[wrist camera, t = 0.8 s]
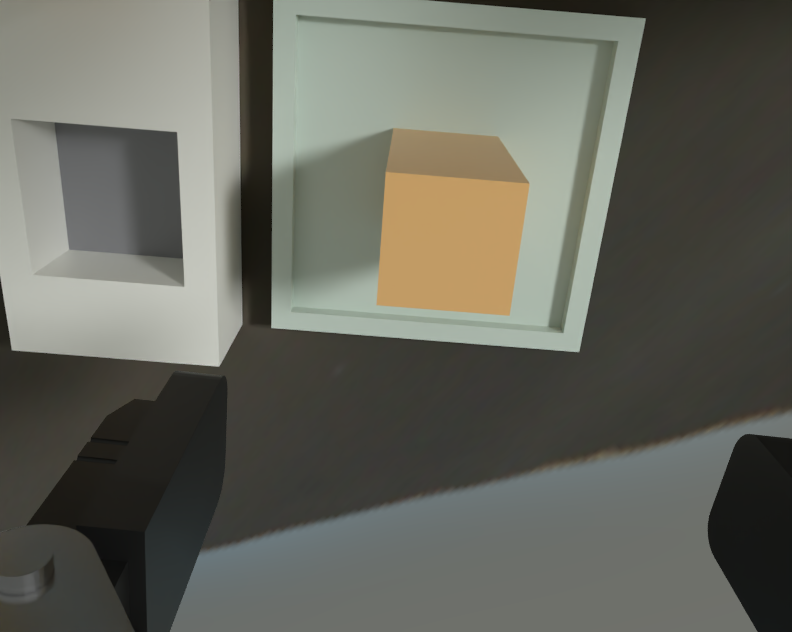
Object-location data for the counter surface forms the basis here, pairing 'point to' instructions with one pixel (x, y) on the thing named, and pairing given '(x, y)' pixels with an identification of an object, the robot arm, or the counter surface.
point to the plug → (450, 223)
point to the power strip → (121, 178)
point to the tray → (443, 112)
